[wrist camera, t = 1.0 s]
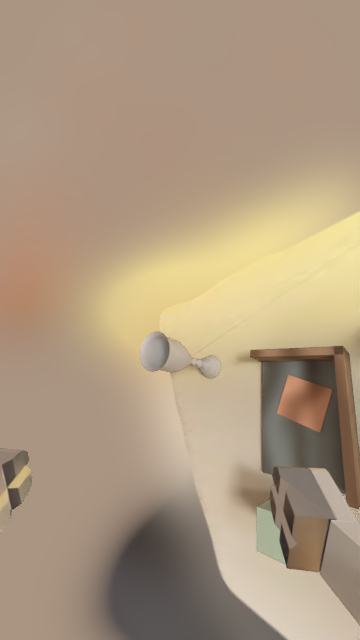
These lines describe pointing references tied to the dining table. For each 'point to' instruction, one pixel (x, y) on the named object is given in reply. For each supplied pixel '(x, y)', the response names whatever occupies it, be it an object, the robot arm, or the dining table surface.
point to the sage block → (268, 533)
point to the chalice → (173, 356)
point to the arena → (311, 414)
